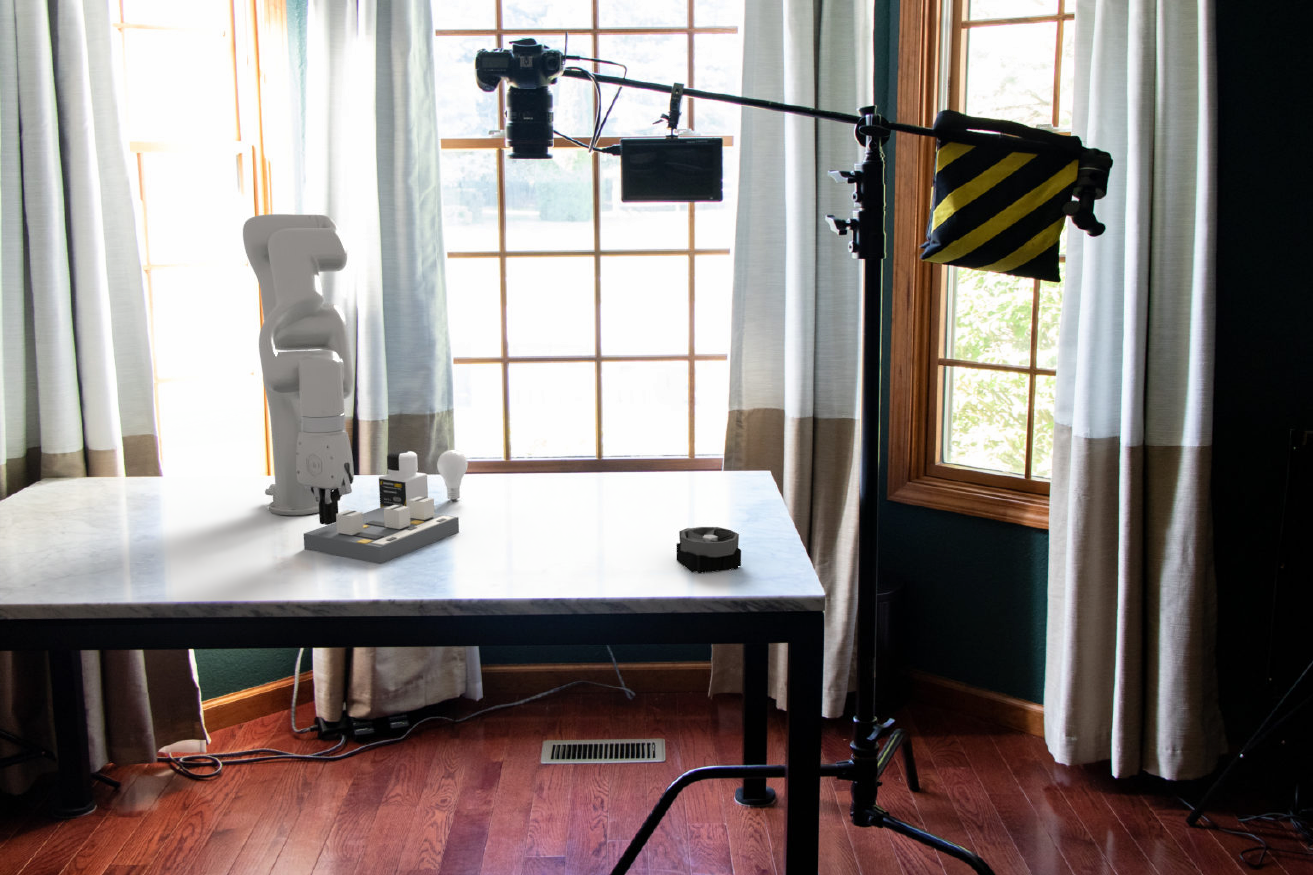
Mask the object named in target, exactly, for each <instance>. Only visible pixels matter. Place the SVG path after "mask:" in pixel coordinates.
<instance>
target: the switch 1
mask: <svg viewBox="0 0 1313 875" xmlns="http://www.w3.org/2000/svg"><path fill="white" fill-rule="evenodd" d="M336 522H337V533H342V534H348V535H354V534H357V533H360V532H362V531H363V512H362V511H357V510H349V509H347V510H345V511H344V510H343V511H341V512H338V514H336ZM336 522H335V523H336Z"/></svg>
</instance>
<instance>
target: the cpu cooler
mask: <svg viewBox="0 0 1313 875" xmlns="http://www.w3.org/2000/svg"><path fill="white" fill-rule="evenodd" d="M678 534H679V535H678V536H679V542H678V543H676V561H677V562H678V563H679V564H681V565H682V567H684V566H685V567H684V568H686V569H687V570H688V571H689V572H690V573H697V574H702V572H703V574H706V573H714V572H721V571H732V569H733V570H738V569H739V567H738V566H741V567H742V550H741V549H740V548H739V543H740V542H739V540H740V533H737V532H735V531H733V530H731V529H727V528H724V527H719V526H697V527H692V528H691V527H687V528H685V529H681V530H679V533H678ZM737 568H738V569H737ZM729 569H731V570H729ZM705 572H706V573H705Z"/></svg>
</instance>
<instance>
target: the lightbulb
mask: <svg viewBox="0 0 1313 875" xmlns="http://www.w3.org/2000/svg"><path fill="white" fill-rule="evenodd" d="M436 464H437V465H436V466H437V470H438V473H439V474H440V476H441V477H442V478H443V481H444V486H445V487H446V491H447V492H446V493H447V495H446V496H447V499H448V500H449V501H453V502H455V501H457V500H458V499H460V498H461V496H460V495H461V492H460V487H461V485H462V480H463V478H464V476H465V474H466V472H467V470H468V465H469V463H468V460H467V457H466V456H465V455H464V453H463V452H461V451H459V450H456V449H450V450H446V451H444V452H442V453H441V454H440V456H439V457H438V459H437V463H436Z"/></svg>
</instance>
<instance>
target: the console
mask: <svg viewBox="0 0 1313 875" xmlns="http://www.w3.org/2000/svg"><path fill="white" fill-rule="evenodd" d="M387 507H389V506H384V507H381V508H380V507H378V508H376V509H373V510H370V511H366V512H364V513H363V531H362V532H360V533H357V534H354V535H348V534H342V533H337V522H335V523H332V524H329V525H325V526H322V527H319V528H317V529H316V528H315V529H312V530H309V531H307V532H304V533H303V550H307V551H310V552H311V551H312V552H317V553H322V554H328V555H331V556H332V555H333V556H338V557H344V558H350V559H353V560H360V561H365V562H370V563H374V564H375V563H376V564H380V565H381V564H383V563H386V562H388V561H391V560H394V559H395V558H399V557H401V556H403V555H407V554H408V553H411V552H413V551H415V550H418V549H420V548H424V547H427V546H428V545H432V544H433V543H436V542H438V541H440V540H444V539H445V538H447V537H451V536H453V535H456V534H458V533H460V529H459V528H460V524H459V518H460V517H458V516H453V515H447V514H440V513H436V512H434V517H431V518H429V519H426V520H421V519H415V518H410V526H407V527H404V528H402V529H395V528H389V527H385V520H384V508H387Z"/></svg>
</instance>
